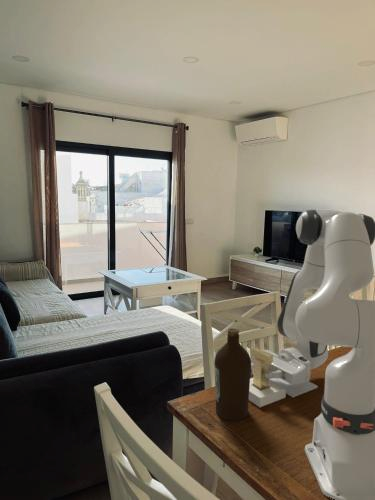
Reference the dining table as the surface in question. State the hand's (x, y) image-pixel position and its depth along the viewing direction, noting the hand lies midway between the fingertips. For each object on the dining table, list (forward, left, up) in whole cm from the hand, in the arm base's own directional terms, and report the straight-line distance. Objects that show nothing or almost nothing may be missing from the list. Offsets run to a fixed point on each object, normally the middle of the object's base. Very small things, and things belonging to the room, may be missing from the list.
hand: (259, 371), depth 115 cm
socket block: (+1, -1, -8) cm, 8 cm away
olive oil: (-11, +7, -8) cm, 16 cm away
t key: (+1, -1, -8) cm, 8 cm away
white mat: (+10, -11, -8) cm, 16 cm away
